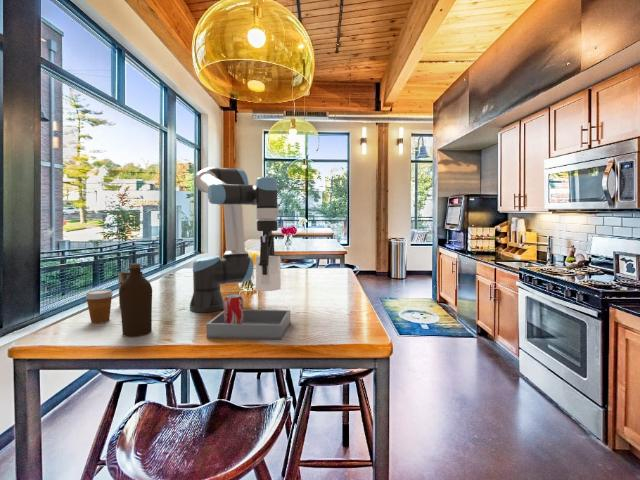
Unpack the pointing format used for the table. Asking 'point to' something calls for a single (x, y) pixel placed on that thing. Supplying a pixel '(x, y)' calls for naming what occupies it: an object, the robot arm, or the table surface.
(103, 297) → the disposable coffee cup
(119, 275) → the coffee box
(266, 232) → the robot arm
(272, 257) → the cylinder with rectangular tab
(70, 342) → the table surface
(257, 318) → the tote
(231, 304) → the soda can
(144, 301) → the brown growler jug
